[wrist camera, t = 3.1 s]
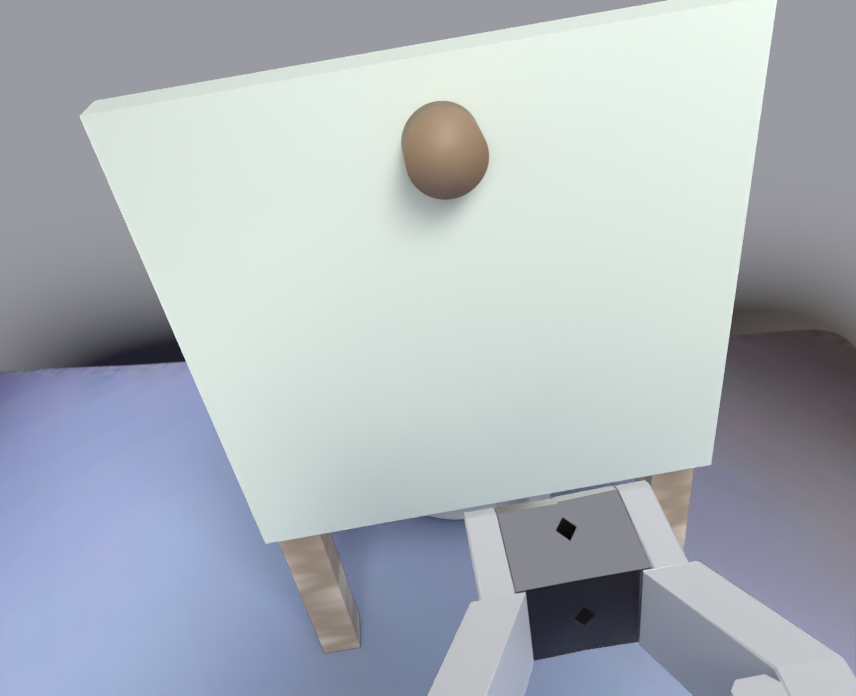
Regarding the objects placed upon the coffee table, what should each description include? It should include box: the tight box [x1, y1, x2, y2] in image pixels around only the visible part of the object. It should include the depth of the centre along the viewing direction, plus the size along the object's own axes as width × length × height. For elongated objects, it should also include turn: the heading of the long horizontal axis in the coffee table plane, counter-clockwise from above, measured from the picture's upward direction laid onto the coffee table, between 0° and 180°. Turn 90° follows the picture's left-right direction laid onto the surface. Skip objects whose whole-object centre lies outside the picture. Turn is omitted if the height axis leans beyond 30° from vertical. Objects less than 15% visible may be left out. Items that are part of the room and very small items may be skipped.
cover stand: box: [279, 468, 693, 653], centre depth 43 cm, size 20×20×11 cm
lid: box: [80, 0, 777, 544], centre depth 25 cm, size 20×19×3 cm
